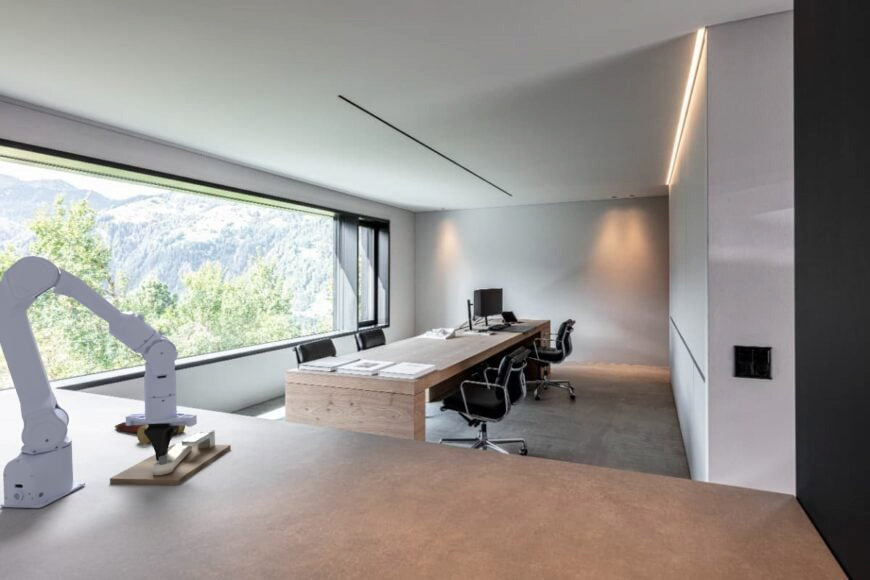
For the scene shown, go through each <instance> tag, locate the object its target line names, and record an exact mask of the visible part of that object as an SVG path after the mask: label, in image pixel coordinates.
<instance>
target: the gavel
mask: <svg viewBox="0 0 870 580" xmlns="http://www.w3.org/2000/svg"><path fill="white" fill-rule="evenodd" d="M114 428H115V429H116V430H117V431H119V432H121V433H122V432H124V433H130V434H131V433H133V434H136V437H137V440H138V442H139V444H143V445H148V444H151V442H150V440H149V439H148V437H147V436H146V435H145V434H144V430H145V429H147V428H148V425H131V426H126V421H123V422H120V423H118V424H115V426H114ZM185 428H186V426H183V425H178V426H177V428H176V430H175V432H174V433H175V435H177V433H178V434H181V433H184V431H185Z"/></svg>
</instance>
